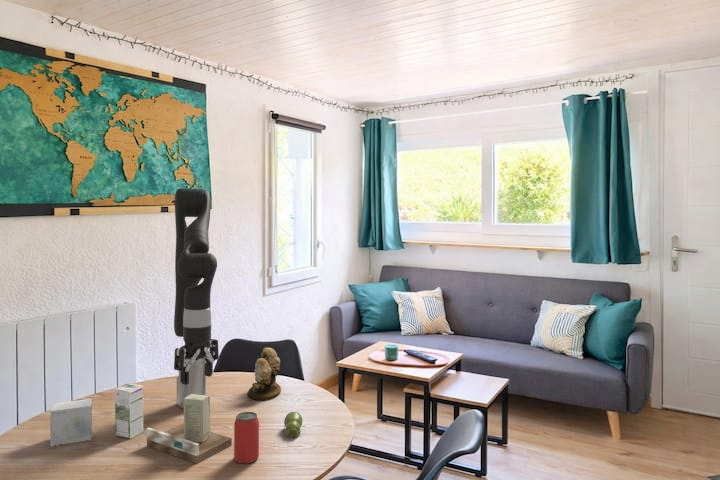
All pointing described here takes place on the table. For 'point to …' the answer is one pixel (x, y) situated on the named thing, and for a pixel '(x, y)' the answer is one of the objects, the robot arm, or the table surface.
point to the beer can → (246, 437)
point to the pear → (293, 424)
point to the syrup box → (129, 410)
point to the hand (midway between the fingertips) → (197, 379)
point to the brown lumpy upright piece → (266, 376)
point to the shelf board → (186, 444)
